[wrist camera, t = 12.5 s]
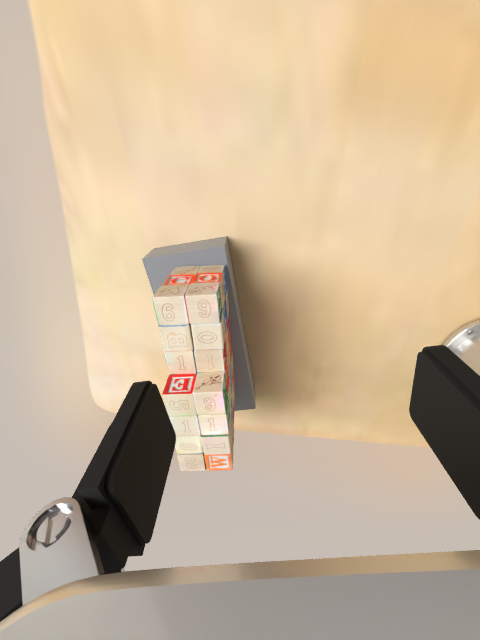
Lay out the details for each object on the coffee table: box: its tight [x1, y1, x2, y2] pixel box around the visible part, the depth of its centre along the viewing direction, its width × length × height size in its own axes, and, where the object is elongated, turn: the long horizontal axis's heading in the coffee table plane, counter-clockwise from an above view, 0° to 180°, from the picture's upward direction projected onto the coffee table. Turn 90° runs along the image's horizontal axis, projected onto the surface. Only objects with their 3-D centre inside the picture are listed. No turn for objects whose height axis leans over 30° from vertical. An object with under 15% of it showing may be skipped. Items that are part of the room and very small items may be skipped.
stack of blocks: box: [153, 265, 235, 471], centre depth 34 cm, size 21×6×12 cm, turn 3°
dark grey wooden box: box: [142, 237, 255, 411], centre depth 42 cm, size 10×26×5 cm, turn 10°
